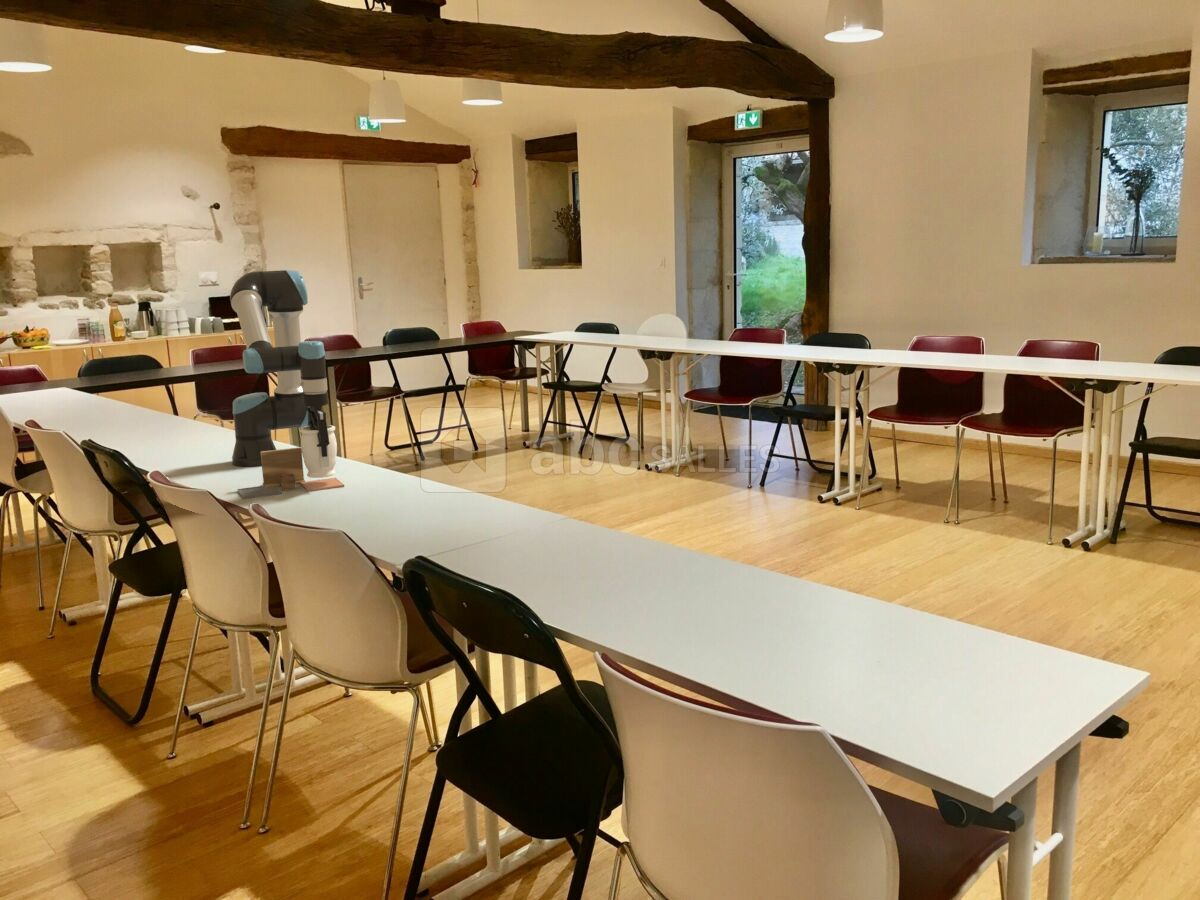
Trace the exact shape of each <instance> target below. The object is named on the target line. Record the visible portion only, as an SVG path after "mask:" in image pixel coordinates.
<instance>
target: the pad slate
mask: <svg viewBox="0 0 1200 900" xmlns="http://www.w3.org/2000/svg"><path fill="white" fill-rule="evenodd" d="M236 491H237V492H238V493H239V496H241V498H242V499H243V500H244V499H245V500H246V499H252V498H253V499H254V498H261V497H262V498H263V497H269V496H277V495H282V494H283V493H282V490H281V489H280V488H279V487H277V486H276V485H275V486H267V487H265V486H263V485H259V486H253V487H252V486H251V487H244V488H242V487H241V488H237V489H236Z"/></svg>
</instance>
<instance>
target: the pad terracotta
mask: <svg viewBox="0 0 1200 900" xmlns="http://www.w3.org/2000/svg"><path fill="white" fill-rule="evenodd" d="M299 485H300V486H302V487H303V488H304V489H305V490H306V491H307V492H314V491H316V492H317V491H321V490H322V491H323V490H331V489H339V488H344V487H345V484H344V483H343V482H342V481H340V479H338V478H337V477H331V478H323V479H321V478H320V479H315V480H307V481H306V480H305V482H300V484H299Z"/></svg>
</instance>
